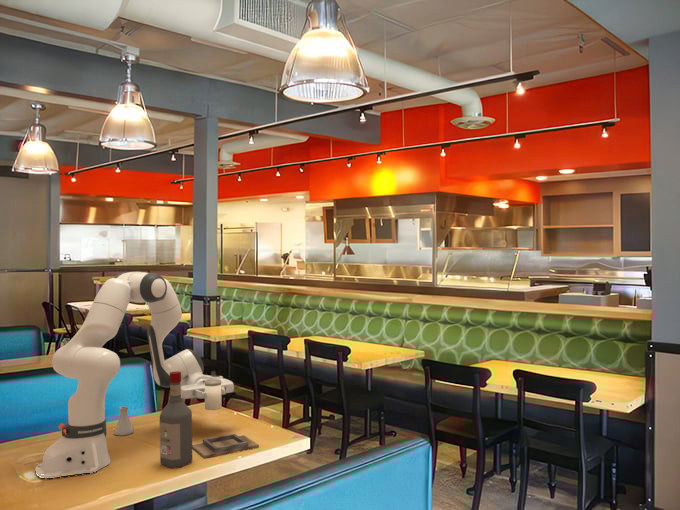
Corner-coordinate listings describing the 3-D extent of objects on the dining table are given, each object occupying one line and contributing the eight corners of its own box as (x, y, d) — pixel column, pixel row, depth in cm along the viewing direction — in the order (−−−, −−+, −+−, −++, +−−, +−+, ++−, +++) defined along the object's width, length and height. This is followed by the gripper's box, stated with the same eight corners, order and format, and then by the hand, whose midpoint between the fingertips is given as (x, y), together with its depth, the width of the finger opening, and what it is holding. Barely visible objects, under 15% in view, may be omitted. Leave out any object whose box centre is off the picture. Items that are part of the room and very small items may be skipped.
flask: (137, 430, 235) (136, 405, 235) (128, 436, 228) (128, 410, 227) (119, 430, 236) (119, 404, 235) (110, 435, 228) (110, 409, 228)
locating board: (204, 458, 203) (204, 451, 203) (191, 448, 214) (191, 441, 214) (258, 447, 213) (258, 440, 213) (243, 437, 224) (243, 431, 224)
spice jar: (208, 411, 218) (208, 383, 218) (202, 407, 223) (202, 380, 223) (224, 408, 222) (223, 381, 222) (217, 405, 227) (217, 378, 227)
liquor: (176, 469, 193) (174, 376, 192) (156, 464, 198) (154, 373, 197) (196, 461, 201) (195, 371, 200) (177, 456, 205) (175, 368, 205)
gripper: (174, 381, 228) (186, 388, 216) (225, 375, 239) (239, 381, 227) (174, 398, 228) (186, 406, 216) (225, 391, 239) (239, 398, 227)
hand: (214, 393), depth 222 cm, fingers closed on spice jar, 6 cm apart
